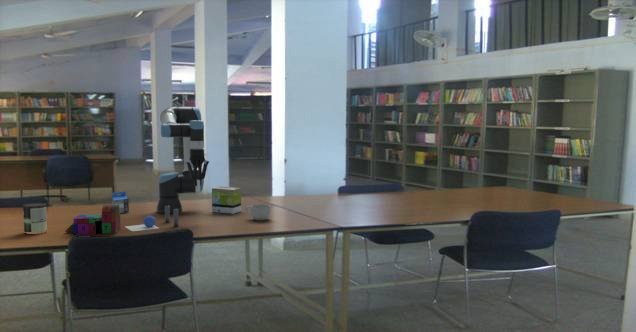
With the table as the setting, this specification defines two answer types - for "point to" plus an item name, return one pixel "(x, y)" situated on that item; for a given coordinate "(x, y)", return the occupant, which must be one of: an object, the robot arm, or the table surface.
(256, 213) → the teacup
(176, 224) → the gate posts
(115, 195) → the label tape box
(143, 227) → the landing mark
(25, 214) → the coffee can
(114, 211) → the block puzzle
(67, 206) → the table surface
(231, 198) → the tea box
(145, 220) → the ball
